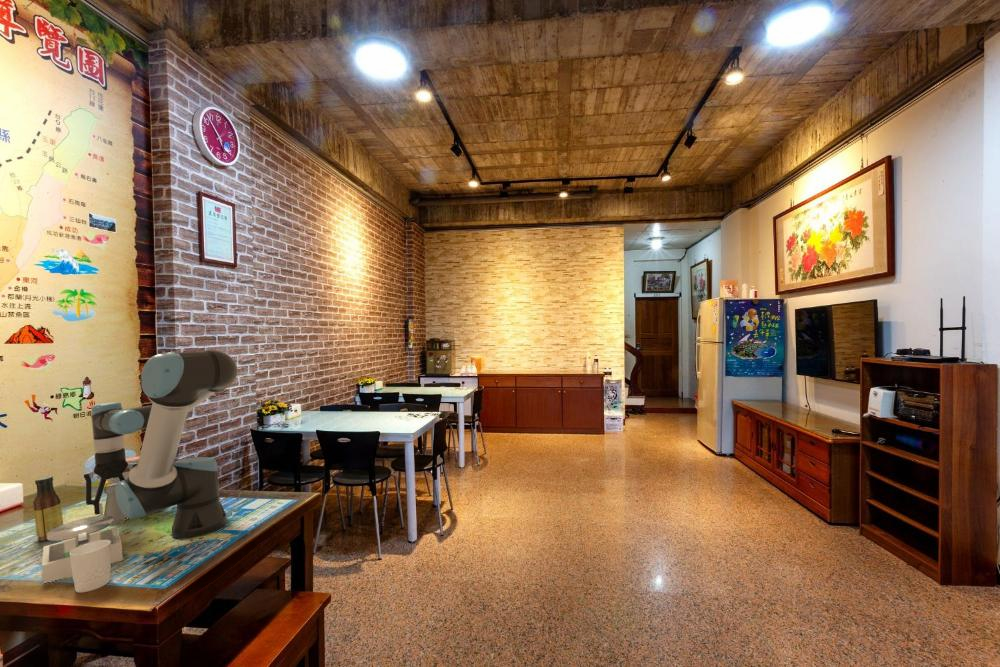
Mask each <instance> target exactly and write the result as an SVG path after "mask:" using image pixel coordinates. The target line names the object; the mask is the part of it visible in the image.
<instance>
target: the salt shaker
mask: <svg viewBox="0 0 1000 667" xmlns="http://www.w3.org/2000/svg"><path fill="white" fill-rule="evenodd" d="M116 485H117V483H116V484H111V485H110V484H108V485H105V486H104V489H103V490H104V494H106V499H105V506H104V510H103V515H109V516H113V518H114V522H113V523H112V524H111V525H110V526H109V527H115V526H116V527H117V526H118V525H121V524H123V523H124V522H125V518H126V517H125V516H124V515H123V513H122V512H121V510H120V508H119V506H118V503H117V500H116V495H115V487H116Z"/></svg>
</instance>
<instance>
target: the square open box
mask: <svg viewBox="0 0 1000 667" xmlns="http://www.w3.org/2000/svg"><path fill="white" fill-rule="evenodd" d="M89 538H90V542H94V541H99V540H110V541H111V564H114V563H117V562H120V561H123V558H124V557H123V545H122V544H123V543H122V540H121V537H120V533H119V531H118V527H117V526H116V527H115V526H113V527H112V528H107V529H102V530H100V531H98V532H94V533H91V534H89ZM75 548H76V539H75V538H72V539H68V540H62V541H58V542H56V543H55V542H54V543H52V544H47V545H44V546H43V550H42V560H41V573H42V574H41V575H42V585H43V584H44V583H47V582H50V583H53V582H56V581H55V580H57V581H60V580H62V579H69V578H73V575H72V569H71V561H70V551H72V550H73V549H75ZM59 579H60V580H59ZM52 581H53V582H52ZM47 584H48V583H47ZM44 585H45V584H44Z"/></svg>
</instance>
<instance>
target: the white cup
mask: <svg viewBox="0 0 1000 667" xmlns="http://www.w3.org/2000/svg"><path fill="white" fill-rule="evenodd" d="M70 561H71V569H72V575H73V577H72V580H73V584H74V585H73V586H74V591H75V592H76V593H86V592H92V591H94V590H98V589H99V588H102V587H104V586H105V585H107V584H108V583H109V582H110V581H111V567H112V565H111V564H112V563H111V541H110V540H99V541H94V542H90V543H87V544H84V545H81V546H79V547H77V548H75V549H73V550H72V551H70Z"/></svg>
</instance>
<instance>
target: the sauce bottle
mask: <svg viewBox="0 0 1000 667" xmlns="http://www.w3.org/2000/svg"><path fill="white" fill-rule="evenodd" d="M34 481H35V482H34V483H35V485H36V493H37V494H36V495H35V497H34V500H33V501H32V502H33V515H34V522H35V530H36V531H35V532H36V537H37V540H38V541H39V542H43V541H46V540H47V541H49V540H48V539H47V533H48V532H49V531H51V530H52V529H54V528H56V527H58V526H61V525H63V524H64V519H63V511H62V510H63V509H62V503H61V499H60V497H59V495H58V494H57V492H56V490H55V489H54V488H55V487H54V482H53V481H54V477H53V475H48V476H47V475H46V476H43V477H39V478H36V479H35V480H34Z"/></svg>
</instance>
